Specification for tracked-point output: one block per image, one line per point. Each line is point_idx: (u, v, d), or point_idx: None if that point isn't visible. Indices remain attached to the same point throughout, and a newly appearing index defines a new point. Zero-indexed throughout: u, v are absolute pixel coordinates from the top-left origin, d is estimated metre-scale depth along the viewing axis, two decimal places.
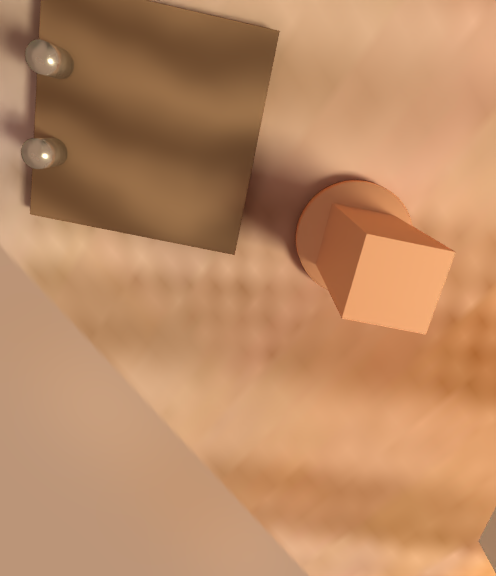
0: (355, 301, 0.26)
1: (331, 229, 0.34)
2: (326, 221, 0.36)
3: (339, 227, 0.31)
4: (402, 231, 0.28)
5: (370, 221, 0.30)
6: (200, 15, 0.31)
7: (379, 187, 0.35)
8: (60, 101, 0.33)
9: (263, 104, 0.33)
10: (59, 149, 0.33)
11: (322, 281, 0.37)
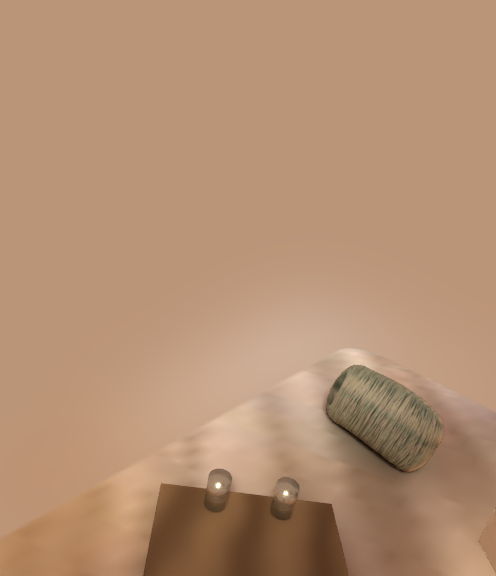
0: None
1: None
2: None
3: None
4: None
5: None
6: None
7: None
8: (254, 510, 0.41)
9: None
10: (222, 500, 0.40)
11: None
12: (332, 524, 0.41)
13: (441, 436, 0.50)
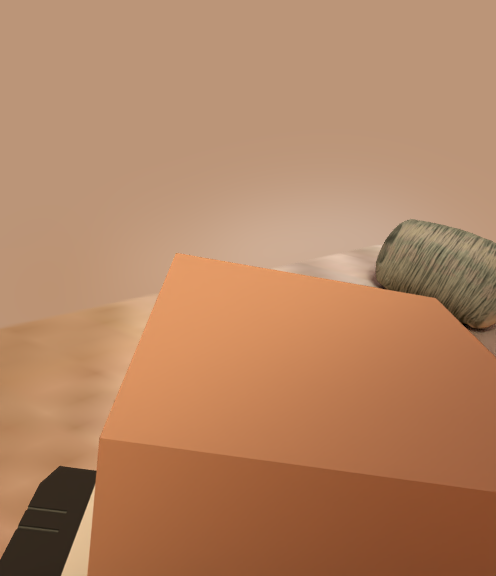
0: (236, 271, 0.08)
1: None
2: None
3: None
4: None
5: None
6: None
7: None
8: None
9: None
10: None
11: None
12: None
13: None
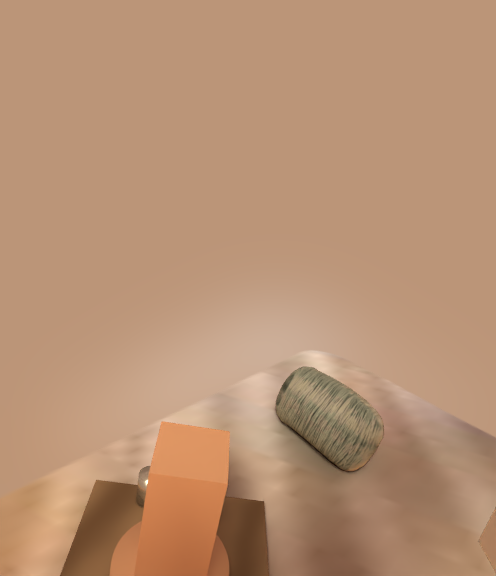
0: (176, 427, 0.33)
1: None
2: None
3: None
4: None
5: None
6: None
7: None
8: None
9: None
10: None
11: (127, 538, 0.37)
12: (261, 521, 0.42)
13: (380, 436, 0.51)
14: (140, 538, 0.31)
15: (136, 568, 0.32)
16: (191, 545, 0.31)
